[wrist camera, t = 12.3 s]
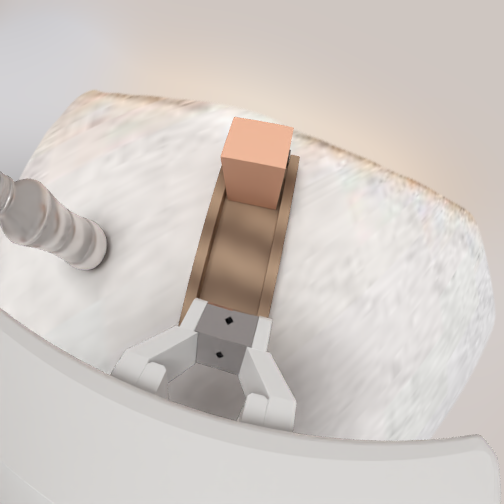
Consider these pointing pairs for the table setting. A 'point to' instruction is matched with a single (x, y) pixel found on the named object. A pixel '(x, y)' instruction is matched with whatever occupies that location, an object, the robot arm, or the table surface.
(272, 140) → the block
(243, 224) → the chute
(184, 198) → the table surface
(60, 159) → the table surface
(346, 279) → the table surface
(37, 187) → the plastic bottle
